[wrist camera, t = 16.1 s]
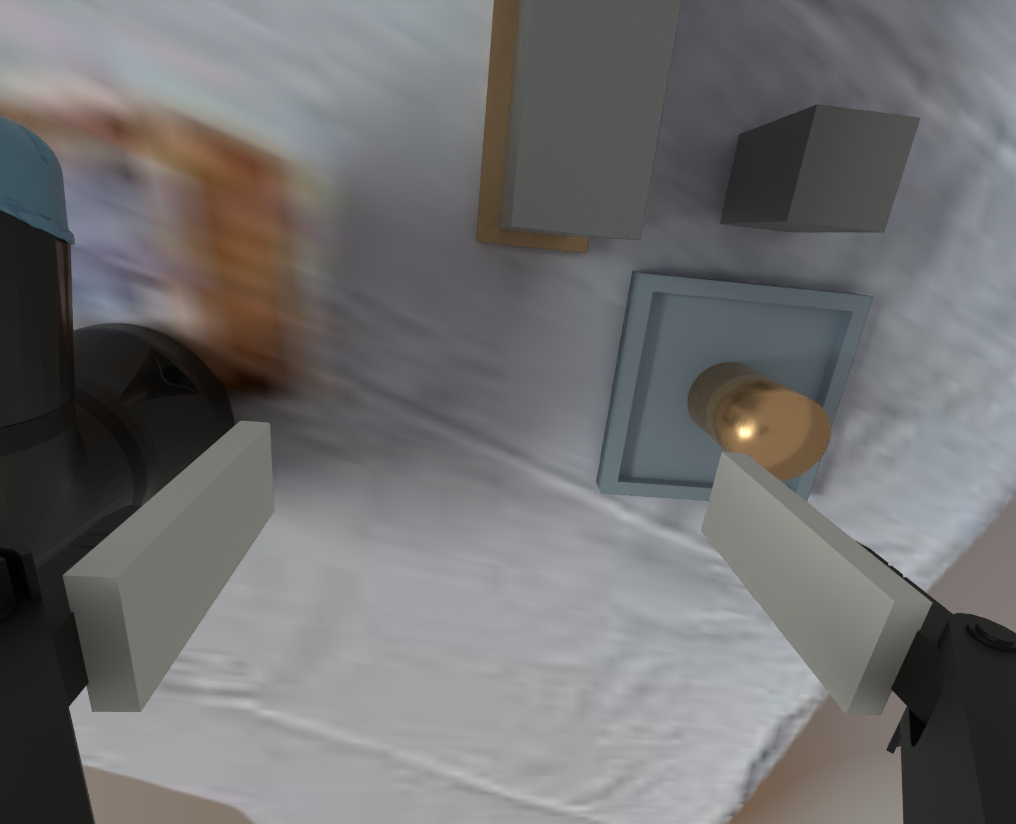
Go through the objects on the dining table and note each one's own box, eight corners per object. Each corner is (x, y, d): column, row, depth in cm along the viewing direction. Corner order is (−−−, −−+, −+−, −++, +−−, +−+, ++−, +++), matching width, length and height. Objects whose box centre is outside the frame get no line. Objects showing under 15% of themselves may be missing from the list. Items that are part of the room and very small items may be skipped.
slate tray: (792, 496, 46) (805, 507, 44) (596, 482, 45) (601, 493, 43) (855, 293, 41) (873, 296, 39) (632, 271, 39) (639, 273, 37)
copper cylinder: (749, 434, 43) (815, 484, 35) (680, 429, 43) (729, 478, 34) (768, 365, 41) (842, 399, 33) (696, 358, 41) (752, 392, 32)
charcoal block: (796, 232, 39) (883, 232, 30) (719, 223, 38) (786, 221, 30) (820, 144, 37) (920, 117, 28) (739, 134, 36) (817, 104, 28)
